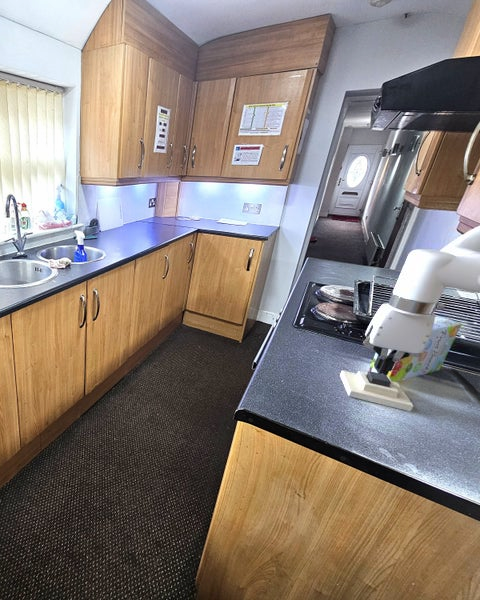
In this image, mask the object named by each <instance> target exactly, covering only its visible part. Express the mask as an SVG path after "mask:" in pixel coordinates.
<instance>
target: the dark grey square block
mask: <svg viewBox="0 0 480 600" xmlns="http://www.w3.org/2000/svg"><path fill="white" fill-rule="evenodd" d="M366 373H367V376H366V377H367V379H368V381H369V383H372V384H376V385H380V386H385V387H389V386H390V384H391V382H390V380H389V379H388V377H387V375H384V374H378V373H375V372H371V371H369V370H368V371H367V372H366Z"/></svg>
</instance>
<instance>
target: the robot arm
mask: <svg viewBox="0 0 480 600" xmlns="http://www.w3.org/2000/svg"><path fill="white" fill-rule="evenodd" d="M446 288H452V289H455V290H456V289H457V290H460V291H465V292H469V293H475V294H480V225H478V226H476V227H474V228H472V229H470V230H468V231H467V232H466V233H463V234H462V235H461V236H459V237H457V238H456V239H455V240H452V241H451V242H450V243H449V244H447V245H446V246H444V247H443V248H441V249H440V250H438V249H430V248H417V249H414V250H411V251H410V252H409V253H408V255H407V257H406V260H405V263H404V264H403V266H402V269H401V271H400V274H399V276H398V278H397V281H396V283H395V285H394V288H393V290H392V293H391V295H390V297H389V300H388V303H385V302H384V303H382V304H381V305H380V306H379V308H378V309H377V311H376V312H375V314H374V315H373V317H372V319H371V320H370V323H369V325H368V326H367V329H366V330H365V334H364V335H365V337H366V338H365V339H364V340H363V341H362V345H363V346H364V347H365V348H367V349H370V350H372V351H374V352H375V354H376V353H377V354H378V357H377V359H376V361H375V363H374V368H375V369H376V370H377V372H378V374H384V375H388V372H389V371H391V370H392V368H393V366H394V364H395V362H398V361H399V360H400V359H403V358H406V357H421V353H422V352H423V351H424V350H425V348H426V346H427V344H428V342H429V339H430V336H431V334H432V330H433V326H434V321H435V317H436V314H435V312H436V310H440V311H441V310H442V311H443V310H444V309H445V306H446V305H445V303H442V302H440V299H441V297H442V295H443V293H444V291H445V289H446ZM389 349H392V350H391V352H390V353H389V355H387V354H388V350H389Z"/></svg>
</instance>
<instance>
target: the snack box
mask: <svg viewBox="0 0 480 600" xmlns="http://www.w3.org/2000/svg"><path fill="white" fill-rule="evenodd" d="M462 325H463V324H462V323H461V322H459V321H455V320H453V319H449V318H447V317H443V316H440V315H437V316H435V321H434V326H433V330H432V334H431V336H430V339H429V342H428V344H427V346H426V348H425V350H424V351H423V352H422V353H421V357H406V358H403V359H400V360H399V361H398V362H395V364H394V366H393V368H392V370H391V371H389V372H388V375H387V377H389V378H390V379H391V381H392V382H396V383H398V382H400V381H404V380H408V379H411V378H415V377H419V376H423V375H428V374H430V373H433V372H439V371H440V370H441V368H442V366H443V364H444V362H445V360H446V358H447V355H448V353H449V352H450V349H451V348H452V345H453V344H454V341H455V339H456V337H457V335H458V333H459V331H460V329H461V327H462ZM391 350H392V349H389V350H388V354H387V355H389V353H390V352H391ZM377 357H378V354H377V353H376V352H375V354H374V356H373V359H372V362H371V364H370V367H369V369H368V371H371V372H375V373H378V372H377V370H376V369H375V368H374V363H375V361H376V359H377Z"/></svg>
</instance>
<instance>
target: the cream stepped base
mask: <svg viewBox="0 0 480 600" xmlns="http://www.w3.org/2000/svg"><path fill="white" fill-rule="evenodd" d="M367 373H368V372H366V371H360V370H358V371H357V372H351V371H347V370H343V369H342V370H341V372H340V374H339V377H340V379H341V381H342V384H343V386H344V388H345V391H346V393H347V395H348V397H351V398H354V399H358V400H362V401H367V402H371V403H375V404H378V405H383V406H387V407H391V408H395V409H398V410H403V411H406V412H412V410H413V408H414V404H413V403H412V401H411V400H410V398H409V396H408V395H407V394H406V392H405V391H404V390H403V388H402V386H401V385H400V383H399V382H392V381H391V379H390V378H389V377H388V379H389V380H390V382H391V384H390V386H389V387H385V386H380V385H376V384H372V383H369V381H368V379H367V377H366V376H367Z"/></svg>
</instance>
